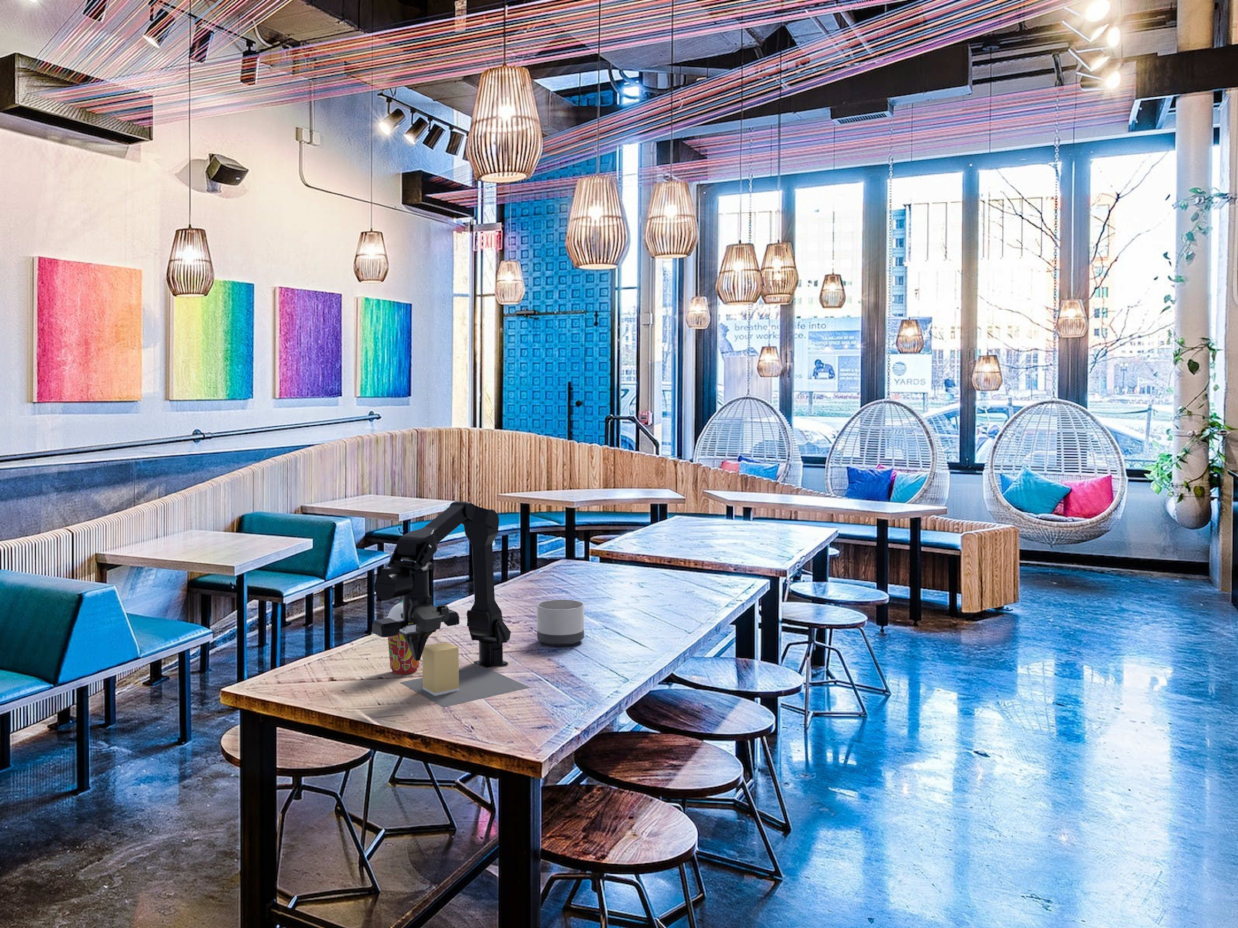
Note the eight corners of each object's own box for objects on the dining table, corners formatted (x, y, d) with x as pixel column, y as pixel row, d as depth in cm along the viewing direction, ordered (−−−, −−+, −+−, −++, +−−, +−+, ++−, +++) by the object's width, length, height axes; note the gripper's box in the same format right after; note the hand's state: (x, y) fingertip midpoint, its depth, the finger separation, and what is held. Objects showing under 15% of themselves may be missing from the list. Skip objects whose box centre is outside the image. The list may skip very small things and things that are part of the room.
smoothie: (384, 669, 229) (383, 589, 227) (418, 665, 232) (417, 586, 230) (390, 679, 221) (388, 596, 219) (425, 675, 224) (424, 593, 223)
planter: (556, 651, 246) (556, 612, 245) (527, 641, 255) (527, 603, 254) (593, 642, 254) (593, 604, 253) (564, 633, 264) (564, 597, 263)
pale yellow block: (422, 688, 212) (422, 645, 211) (446, 683, 216) (446, 641, 215) (434, 695, 207) (434, 651, 207) (459, 690, 211) (458, 647, 210)
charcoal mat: (399, 684, 217) (399, 682, 217) (482, 667, 231) (482, 665, 231) (443, 709, 200) (443, 706, 200) (530, 689, 213) (530, 687, 213)
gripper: (391, 603, 194) (393, 676, 195) (470, 591, 206) (471, 660, 207) (370, 594, 203) (371, 664, 204) (447, 583, 214) (448, 649, 216)
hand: (417, 660), depth 207 cm, fingers closed
